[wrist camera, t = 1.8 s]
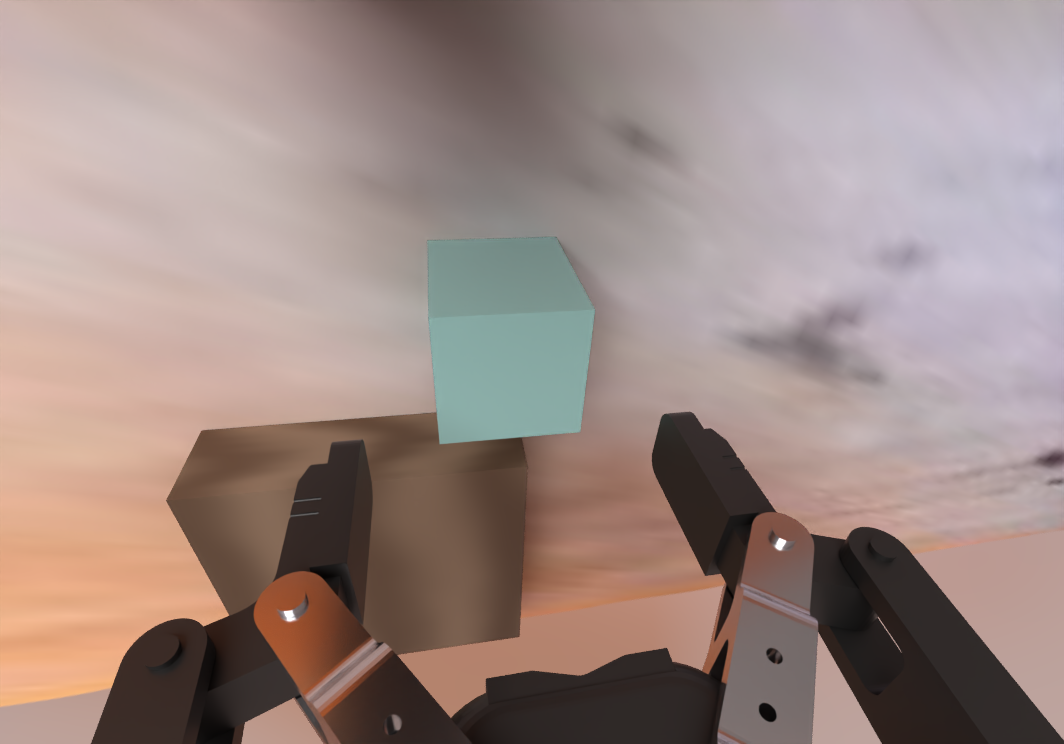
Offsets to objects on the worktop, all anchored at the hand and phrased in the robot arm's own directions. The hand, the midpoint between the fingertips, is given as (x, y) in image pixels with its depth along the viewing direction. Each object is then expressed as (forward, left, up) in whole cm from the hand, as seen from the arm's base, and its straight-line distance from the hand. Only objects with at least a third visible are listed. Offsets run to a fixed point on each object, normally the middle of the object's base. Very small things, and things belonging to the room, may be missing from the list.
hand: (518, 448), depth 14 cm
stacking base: (+6, +13, -9) cm, 17 cm away
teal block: (0, 0, -9) cm, 9 cm away
